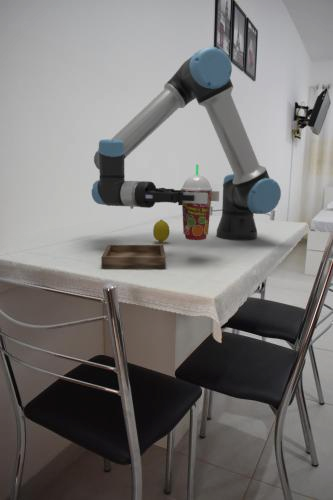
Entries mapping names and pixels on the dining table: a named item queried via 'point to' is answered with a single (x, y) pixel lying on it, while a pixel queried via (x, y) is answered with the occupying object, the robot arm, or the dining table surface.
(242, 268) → the dining table surface
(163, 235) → the lemon
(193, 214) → the smoothie
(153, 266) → the walnut tray
